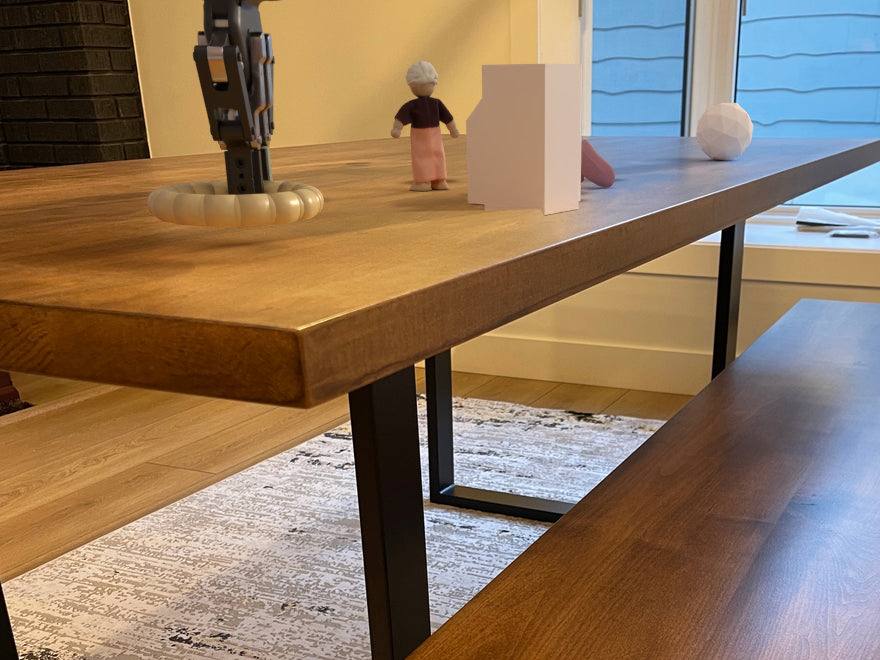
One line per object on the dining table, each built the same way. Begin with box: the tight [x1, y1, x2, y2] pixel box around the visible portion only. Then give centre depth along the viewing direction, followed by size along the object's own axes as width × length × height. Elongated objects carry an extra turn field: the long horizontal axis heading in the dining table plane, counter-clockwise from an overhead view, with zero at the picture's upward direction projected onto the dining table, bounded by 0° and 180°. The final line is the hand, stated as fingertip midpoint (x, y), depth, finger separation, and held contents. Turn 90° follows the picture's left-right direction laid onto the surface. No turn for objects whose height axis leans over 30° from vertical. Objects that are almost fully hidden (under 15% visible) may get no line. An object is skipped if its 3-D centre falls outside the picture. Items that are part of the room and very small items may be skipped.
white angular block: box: [465, 63, 584, 216], centre depth 91 cm, size 11×11×12 cm
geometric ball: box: [695, 102, 755, 161], centre depth 140 cm, size 8×8×8 cm
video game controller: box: [581, 136, 616, 188], centre depth 109 cm, size 10×5×7 cm, turn 27°
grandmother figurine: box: [390, 60, 460, 192], centre depth 105 cm, size 8×4×13 cm, turn 130°
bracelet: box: [146, 180, 325, 228], centre depth 63 cm, size 11×11×2 cm
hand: (251, 206), depth 67 cm, fingers closed on bracelet, 2 cm apart
